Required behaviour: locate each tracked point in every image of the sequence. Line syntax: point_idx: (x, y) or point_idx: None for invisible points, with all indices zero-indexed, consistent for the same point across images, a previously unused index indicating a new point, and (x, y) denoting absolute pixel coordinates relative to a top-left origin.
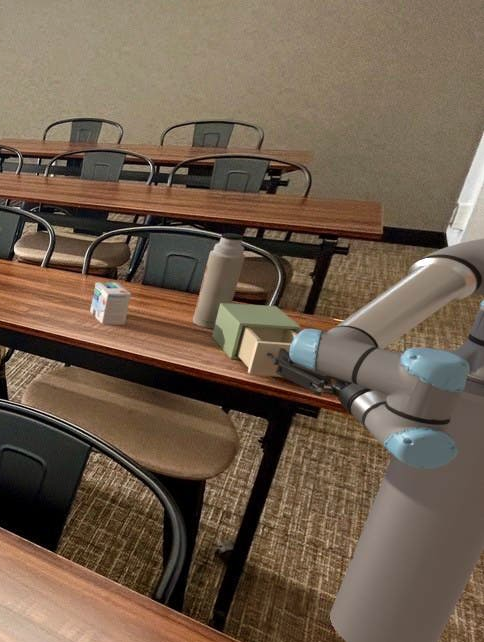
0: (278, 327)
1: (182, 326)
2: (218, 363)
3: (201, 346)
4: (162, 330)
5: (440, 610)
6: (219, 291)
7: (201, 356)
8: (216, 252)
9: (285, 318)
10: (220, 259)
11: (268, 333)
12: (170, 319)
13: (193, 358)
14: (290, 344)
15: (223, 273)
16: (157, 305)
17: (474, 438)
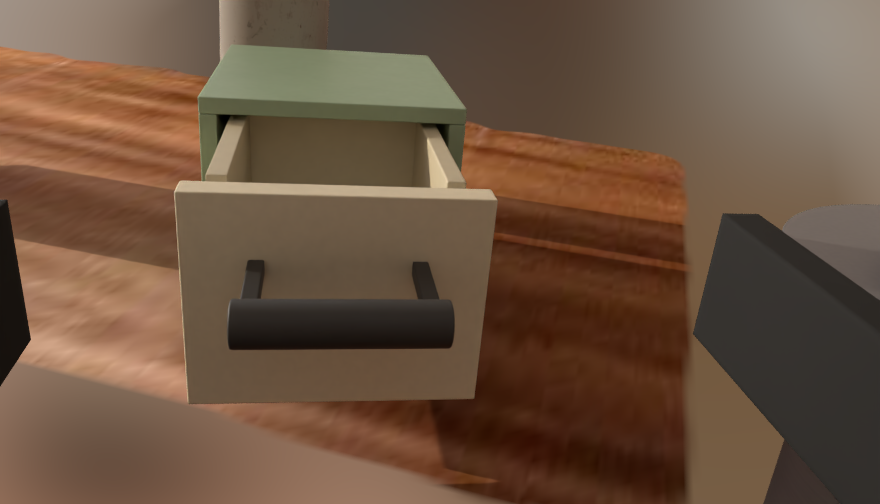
0: (374, 115)
1: (192, 173)
2: (158, 329)
3: (174, 245)
4: (96, 190)
5: None
6: (259, 11)
7: (117, 296)
8: None
9: (427, 83)
10: None
11: (357, 157)
12: (178, 153)
13: (62, 312)
14: (363, 192)
15: None
16: (190, 118)
17: None
